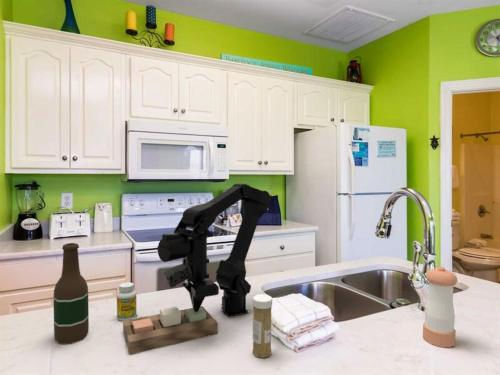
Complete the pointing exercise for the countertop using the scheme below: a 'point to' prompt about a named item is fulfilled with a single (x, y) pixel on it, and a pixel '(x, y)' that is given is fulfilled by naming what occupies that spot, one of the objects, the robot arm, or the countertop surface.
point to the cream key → (170, 316)
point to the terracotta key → (142, 326)
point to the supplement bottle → (126, 302)
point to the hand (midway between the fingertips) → (195, 311)
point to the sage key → (195, 315)
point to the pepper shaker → (440, 308)
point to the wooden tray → (167, 332)
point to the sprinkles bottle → (262, 325)
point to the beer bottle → (70, 300)
